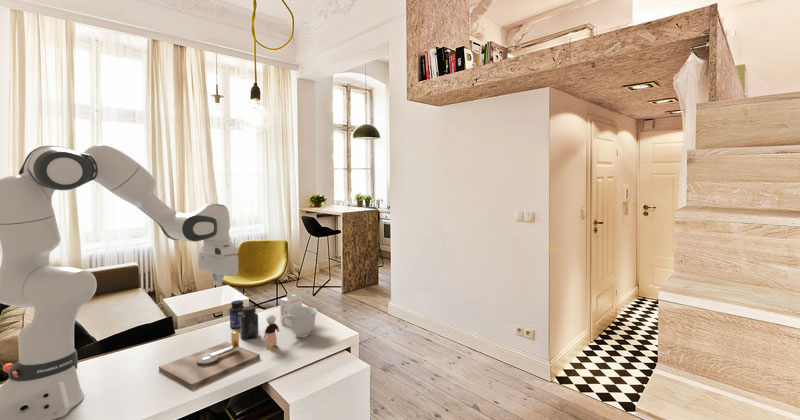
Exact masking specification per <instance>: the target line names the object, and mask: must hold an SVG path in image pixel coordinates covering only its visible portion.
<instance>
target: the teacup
mask: <svg viewBox="0 0 800 420" xmlns="http://www.w3.org/2000/svg"><path fill="white" fill-rule="evenodd" d="M317 313H318V309H317V308H315V307H312V306H302V307H297V308H293V309H291V310H289V311H288V312H287V314H288V315H289V316H288V315H284V316H283V317H282V324H283V325H282V326H284V327H287V328H290V329H291V331H292V332H293V333H294V334H295V336H297V338H307V337H309V336H310V335H309V334H311V333H310V332H312V331H313V330H314V328H315V322H316V316H317V315H316V314H317ZM285 318H287V319H288V320H290V324H291V326H290V325H288V324H285V323H284V319H285ZM308 335H309V336H308ZM306 336H307V337H306Z"/></svg>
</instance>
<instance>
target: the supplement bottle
mask: <svg viewBox="0 0 800 420" xmlns="http://www.w3.org/2000/svg"><path fill="white" fill-rule="evenodd" d="M256 310H257V309H256V306H253V305H250V306H248V305H247V306H244V308H243V315H241V317H240V328H239V329H240V331H239V333H240V334H239V335H240V336H239V337H240V339H241V340H244V341H250V340H253V339H256V338H258V337H259V315H258V313H257V311H256Z"/></svg>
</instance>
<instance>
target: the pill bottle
mask: <svg viewBox="0 0 800 420" xmlns="http://www.w3.org/2000/svg"><path fill="white" fill-rule="evenodd" d="M230 305H231V307H230V309H229V327H230V329H232V330H233V329H234V330H239V329H240V317H241V315H243V308H244V307H245V306H244V301H243V300H241V299H238V300H233V301H231V304H230Z"/></svg>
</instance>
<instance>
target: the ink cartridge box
mask: <svg viewBox="0 0 800 420" xmlns="http://www.w3.org/2000/svg"><path fill="white" fill-rule="evenodd" d="M279 301H280V302H279V303H280V325H281V324H282V317H283V316H284V315H288V314H287V312H288V311H289V310H291V309H293V308H297V307H303V296H302V290H301V289H299V290H298V289H297V290H295V291H291V292H287V294H286V297H283V298H280V300H279ZM288 316H289V315H288ZM284 323H285V324H288V325H291V324H290V320H288V319H287V318H285V319H284Z"/></svg>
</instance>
